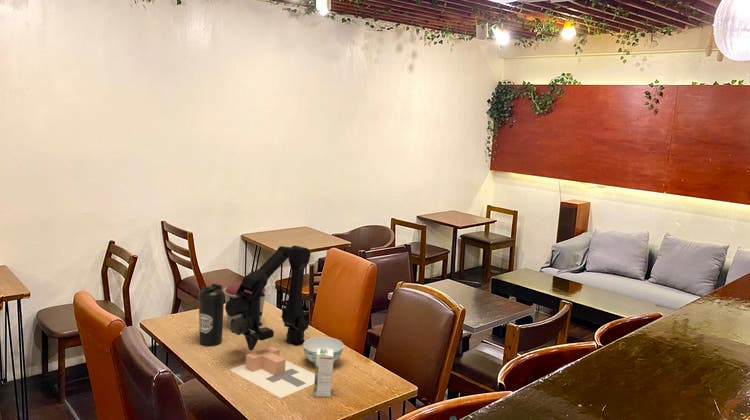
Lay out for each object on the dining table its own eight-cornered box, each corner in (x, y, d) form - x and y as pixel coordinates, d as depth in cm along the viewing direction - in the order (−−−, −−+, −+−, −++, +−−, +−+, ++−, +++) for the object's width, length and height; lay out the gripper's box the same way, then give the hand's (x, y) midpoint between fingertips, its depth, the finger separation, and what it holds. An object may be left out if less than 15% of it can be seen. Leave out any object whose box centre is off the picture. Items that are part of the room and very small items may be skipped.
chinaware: (293, 364, 209) (294, 344, 208) (321, 352, 221) (322, 333, 220) (323, 377, 200) (324, 356, 199) (350, 364, 212) (351, 344, 211)
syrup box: (314, 388, 191) (316, 348, 189) (331, 389, 191) (333, 348, 189) (313, 396, 185) (315, 355, 183) (331, 397, 186) (333, 355, 184)
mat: (272, 355, 215) (273, 354, 215) (324, 380, 198) (325, 378, 197) (228, 371, 200) (228, 369, 200) (280, 399, 182) (280, 397, 182)
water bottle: (191, 343, 221) (192, 287, 217) (208, 335, 230) (209, 280, 227) (213, 349, 217) (214, 291, 214) (229, 340, 227) (230, 285, 223)
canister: (238, 316, 254) (239, 271, 250) (273, 323, 248) (275, 277, 244) (213, 329, 237) (214, 281, 233) (251, 337, 231) (252, 288, 228)
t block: (271, 358, 211) (272, 346, 210) (293, 369, 203) (294, 356, 203) (245, 368, 202) (246, 355, 201) (267, 379, 194) (267, 365, 193)
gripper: (218, 307, 206) (217, 348, 209) (250, 321, 195) (249, 364, 197) (243, 301, 215) (242, 340, 217) (275, 314, 203) (273, 355, 205)
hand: (251, 350), depth 209 cm, fingers closed
